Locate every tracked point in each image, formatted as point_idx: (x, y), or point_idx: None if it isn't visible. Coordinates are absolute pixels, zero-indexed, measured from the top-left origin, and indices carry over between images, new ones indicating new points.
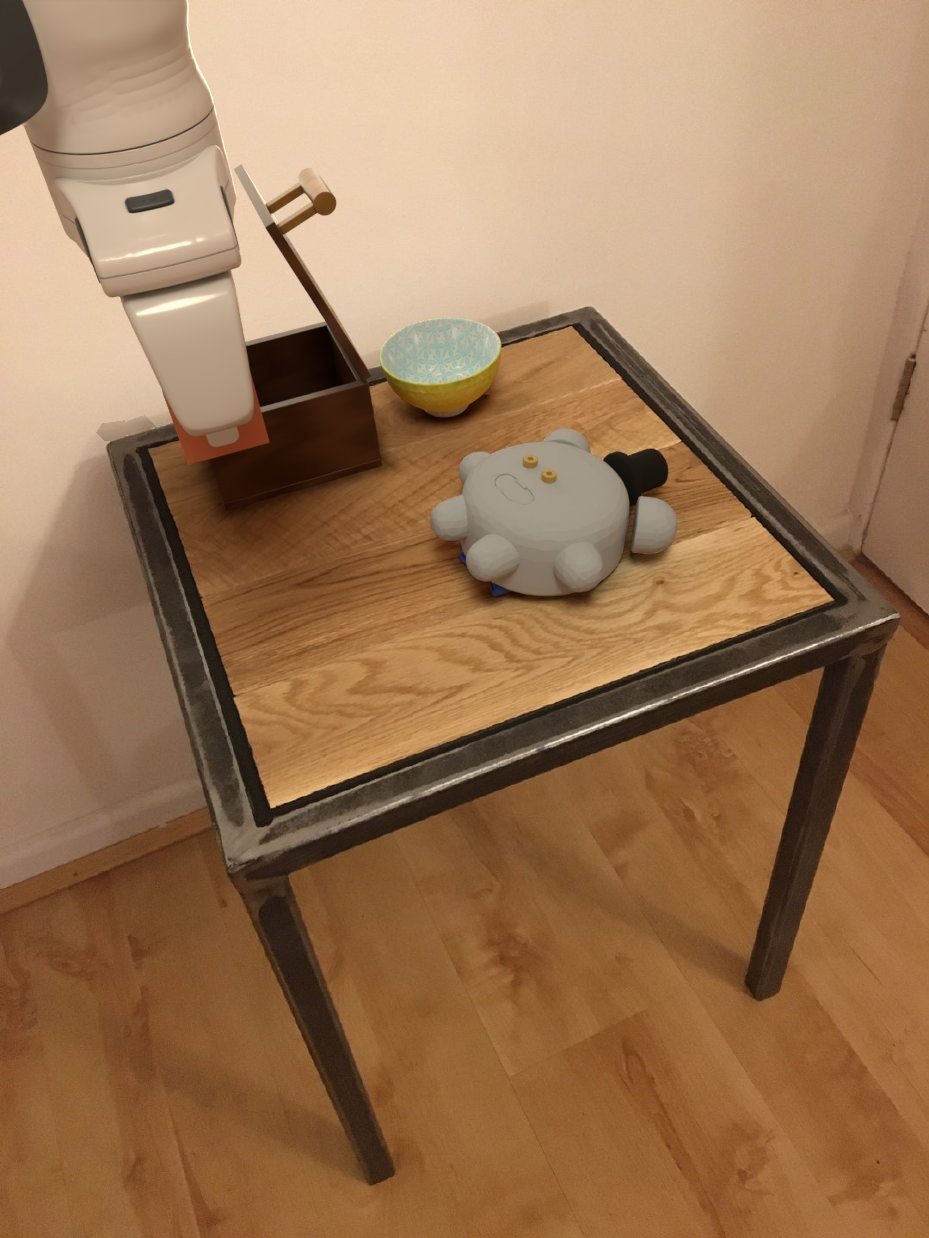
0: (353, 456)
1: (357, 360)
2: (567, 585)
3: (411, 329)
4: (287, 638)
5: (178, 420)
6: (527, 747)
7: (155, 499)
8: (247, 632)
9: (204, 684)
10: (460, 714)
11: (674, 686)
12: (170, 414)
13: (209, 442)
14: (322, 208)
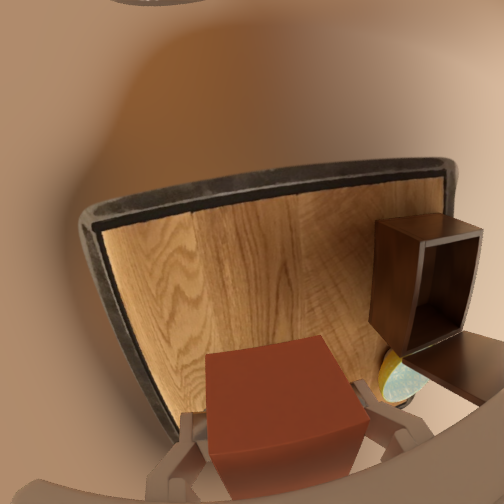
0: (376, 313)
1: (411, 366)
2: (205, 410)
3: None
4: (235, 252)
5: (14, 497)
6: (126, 359)
7: (402, 173)
8: (250, 225)
9: (208, 191)
10: (149, 338)
11: (156, 412)
12: (207, 421)
13: (180, 417)
14: None
